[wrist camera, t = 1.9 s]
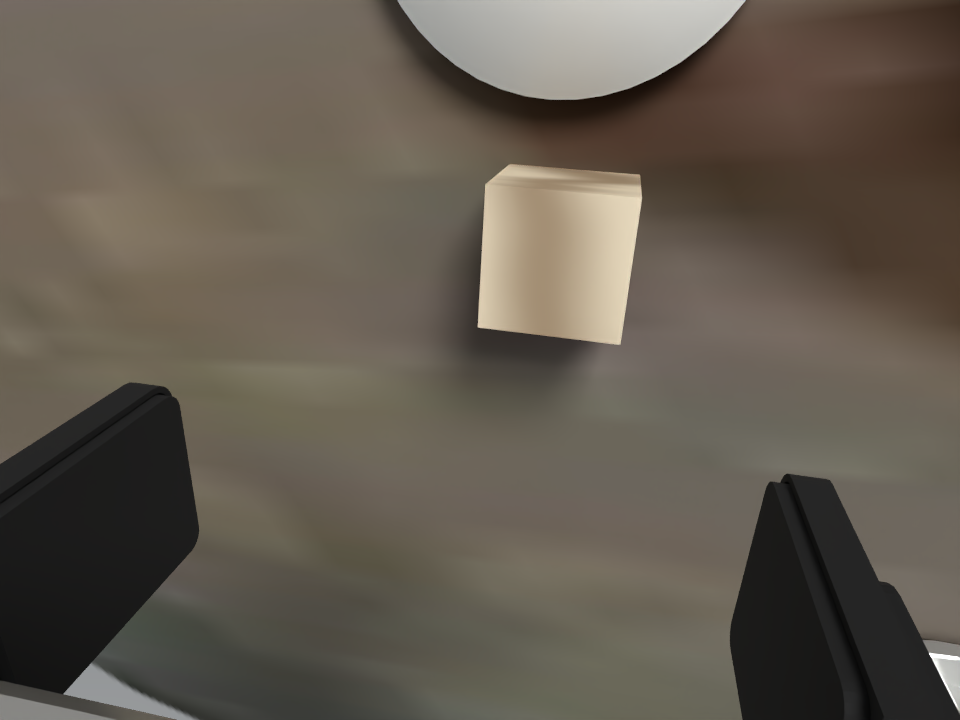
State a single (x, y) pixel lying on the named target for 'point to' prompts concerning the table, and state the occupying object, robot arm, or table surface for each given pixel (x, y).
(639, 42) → the ceramic dish
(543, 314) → the maple block
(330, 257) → the table surface
